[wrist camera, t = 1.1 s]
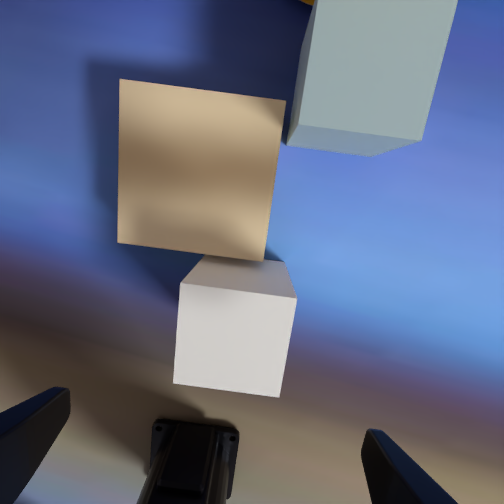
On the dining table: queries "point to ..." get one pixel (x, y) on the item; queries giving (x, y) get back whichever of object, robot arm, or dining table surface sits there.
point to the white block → (234, 325)
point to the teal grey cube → (368, 74)
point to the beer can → (308, 2)
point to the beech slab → (196, 169)
